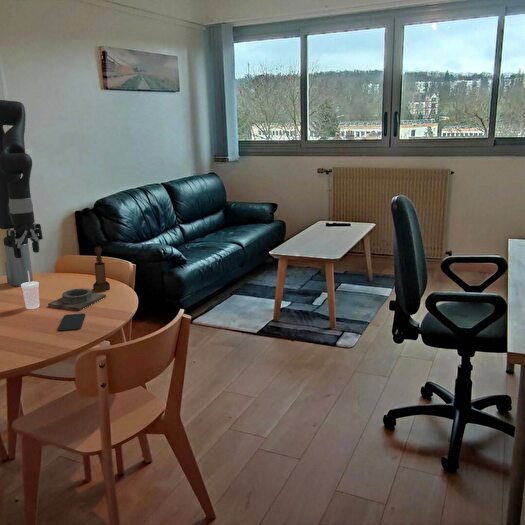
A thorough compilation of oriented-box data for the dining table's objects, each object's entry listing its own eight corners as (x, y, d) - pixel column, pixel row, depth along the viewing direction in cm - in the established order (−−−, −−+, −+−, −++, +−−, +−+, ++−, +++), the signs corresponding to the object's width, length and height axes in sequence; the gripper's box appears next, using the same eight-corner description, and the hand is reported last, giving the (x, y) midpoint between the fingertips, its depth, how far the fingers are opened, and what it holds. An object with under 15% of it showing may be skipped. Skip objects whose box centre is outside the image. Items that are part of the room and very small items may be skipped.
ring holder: (48, 306, 195) (47, 297, 194) (76, 293, 209) (75, 284, 208) (79, 311, 190) (78, 301, 189) (106, 297, 205) (105, 288, 204)
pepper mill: (107, 292, 211) (103, 248, 207) (91, 292, 212) (87, 248, 207) (112, 287, 218) (108, 244, 213) (96, 287, 218) (92, 244, 213)
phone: (86, 313, 187) (80, 328, 173) (86, 315, 187) (80, 330, 173) (64, 314, 186) (56, 330, 172) (64, 316, 186) (57, 332, 172)
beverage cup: (21, 307, 195) (16, 270, 191) (37, 302, 199) (32, 267, 195) (28, 310, 191) (23, 274, 187) (44, 306, 195) (40, 270, 191)
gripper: (28, 207, 193) (33, 250, 197) (-3, 213, 180) (3, 259, 184) (44, 208, 191) (49, 251, 195) (14, 214, 178) (20, 260, 182)
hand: (27, 255), depth 190 cm, fingers open, 8 cm apart
